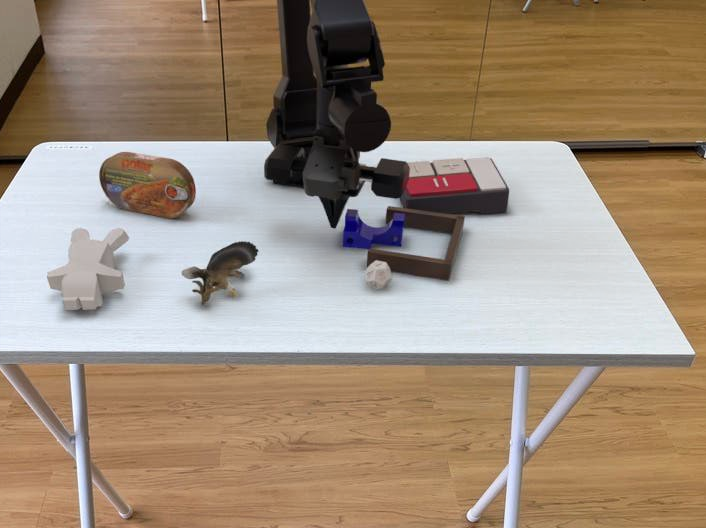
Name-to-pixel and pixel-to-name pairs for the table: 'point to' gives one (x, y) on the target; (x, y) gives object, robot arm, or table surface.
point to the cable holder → (372, 232)
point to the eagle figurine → (222, 269)
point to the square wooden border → (421, 263)
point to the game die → (378, 274)
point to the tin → (147, 184)
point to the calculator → (456, 186)
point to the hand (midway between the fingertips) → (334, 227)
